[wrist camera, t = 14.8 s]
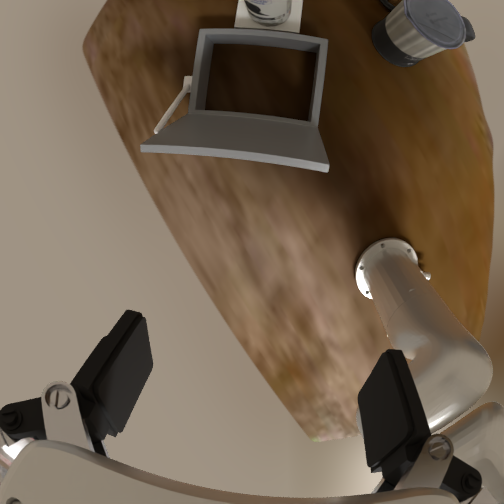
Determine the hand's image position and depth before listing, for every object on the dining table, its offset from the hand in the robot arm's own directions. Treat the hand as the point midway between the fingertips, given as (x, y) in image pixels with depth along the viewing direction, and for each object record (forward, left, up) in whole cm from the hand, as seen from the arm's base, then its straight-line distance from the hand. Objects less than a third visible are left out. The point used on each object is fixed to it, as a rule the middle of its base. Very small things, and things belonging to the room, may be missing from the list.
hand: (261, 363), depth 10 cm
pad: (+5, -29, -36) cm, 47 cm away
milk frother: (-16, -32, -37) cm, 51 cm away
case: (+6, -14, -36) cm, 39 cm away
